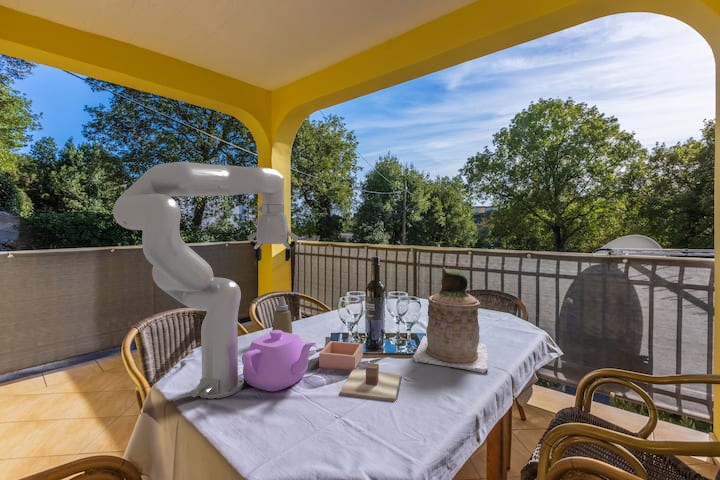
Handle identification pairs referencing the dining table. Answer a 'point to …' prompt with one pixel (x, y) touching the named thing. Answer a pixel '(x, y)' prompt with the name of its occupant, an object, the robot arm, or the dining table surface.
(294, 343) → the teapot
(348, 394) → the lid
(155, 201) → the robot arm
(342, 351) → the dish
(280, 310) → the squeeze bottle
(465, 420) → the dining table surface
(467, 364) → the cookie jar
